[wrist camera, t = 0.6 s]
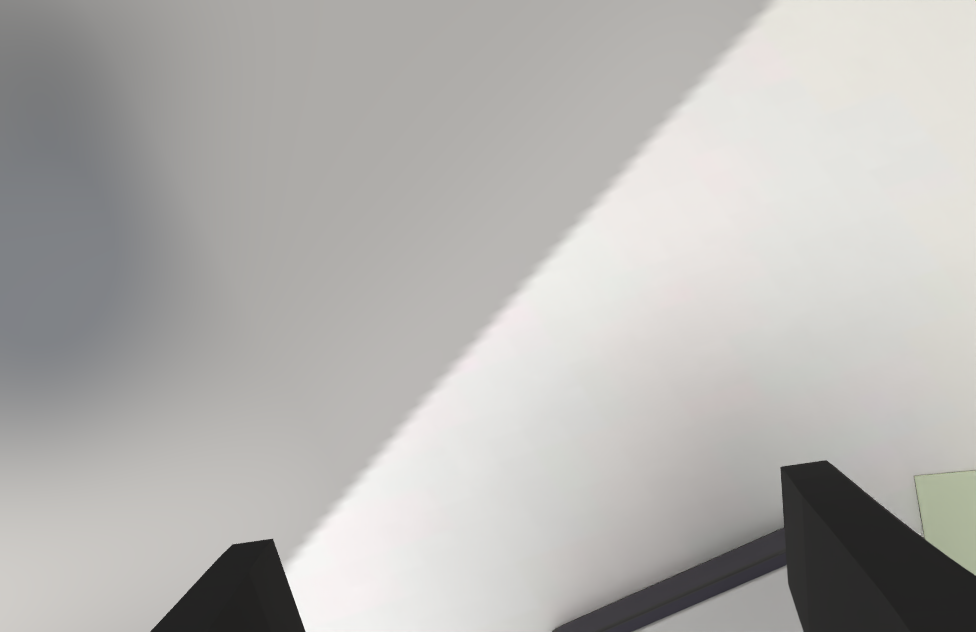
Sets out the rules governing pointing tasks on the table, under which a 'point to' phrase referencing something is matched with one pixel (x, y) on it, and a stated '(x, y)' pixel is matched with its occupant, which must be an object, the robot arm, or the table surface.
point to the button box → (709, 597)
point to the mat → (950, 514)
